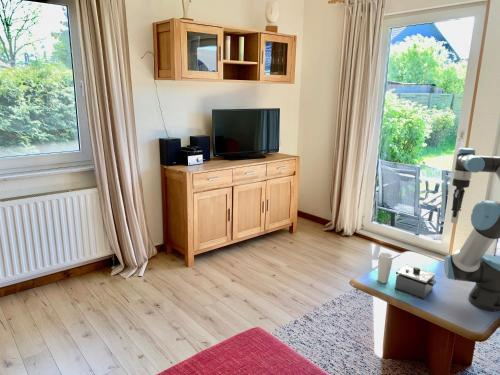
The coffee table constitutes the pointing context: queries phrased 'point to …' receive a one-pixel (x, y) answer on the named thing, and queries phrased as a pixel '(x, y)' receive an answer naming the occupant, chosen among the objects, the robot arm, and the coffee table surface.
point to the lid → (416, 273)
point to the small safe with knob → (414, 286)
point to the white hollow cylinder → (384, 267)
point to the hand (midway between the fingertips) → (454, 222)
